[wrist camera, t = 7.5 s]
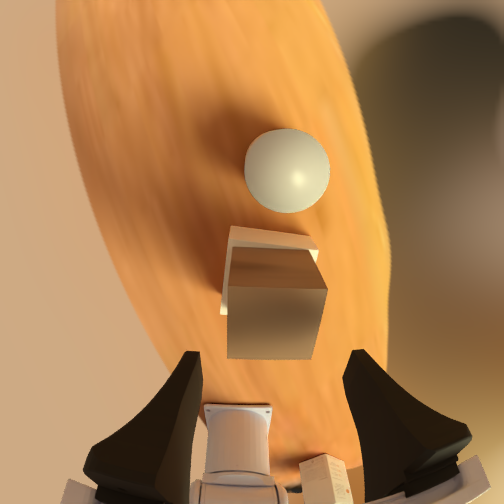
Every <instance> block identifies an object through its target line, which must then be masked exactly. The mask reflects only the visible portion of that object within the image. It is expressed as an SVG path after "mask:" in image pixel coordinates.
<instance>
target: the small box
mask: <svg viewBox="0 0 504 504" xmlns="http://www.w3.org/2000/svg"><path fill="white" fill-rule="evenodd" d="M299 468H300V476H301V483H302V490H303V497H304V504H353V499H352V495H351V490H350V486H349V482H348V477H347V473H346V468H345V464H344V461H342V460H340V459H338V458H335V457H333V456H331V455H328V454H326V453H325V454H323V455H320V456H317V457H315V458H312V459H309V460H307V461H304V462H301V463H299Z"/></svg>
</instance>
